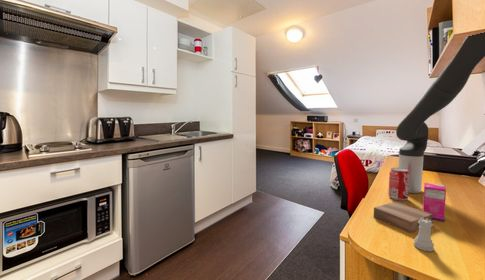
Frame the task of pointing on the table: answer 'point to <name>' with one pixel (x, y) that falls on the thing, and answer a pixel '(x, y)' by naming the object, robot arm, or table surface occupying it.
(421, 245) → the rook chess piece
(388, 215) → the walnut block
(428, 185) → the supplement box
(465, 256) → the table surface
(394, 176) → the soda can
